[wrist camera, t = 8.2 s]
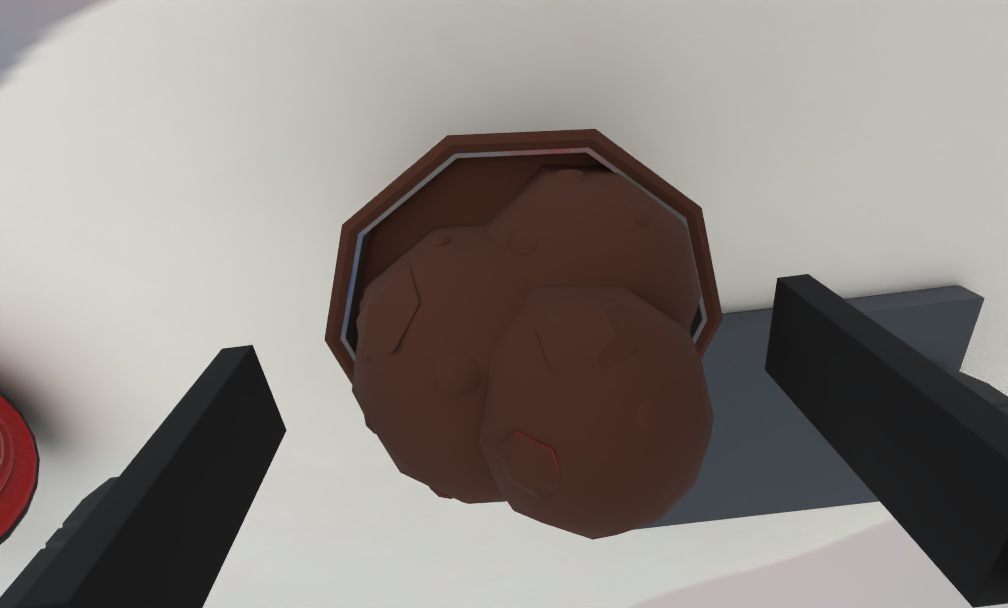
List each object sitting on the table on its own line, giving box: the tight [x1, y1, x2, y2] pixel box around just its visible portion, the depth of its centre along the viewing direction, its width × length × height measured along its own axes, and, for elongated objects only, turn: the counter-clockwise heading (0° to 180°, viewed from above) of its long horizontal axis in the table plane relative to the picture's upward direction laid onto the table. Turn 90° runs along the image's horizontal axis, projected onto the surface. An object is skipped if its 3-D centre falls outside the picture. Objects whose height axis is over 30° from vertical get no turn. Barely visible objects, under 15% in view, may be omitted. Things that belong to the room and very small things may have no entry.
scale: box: [633, 286, 984, 530], centre depth 27 cm, size 18×13×3 cm
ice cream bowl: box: [325, 129, 723, 539], centre depth 16 cm, size 11×11×15 cm
